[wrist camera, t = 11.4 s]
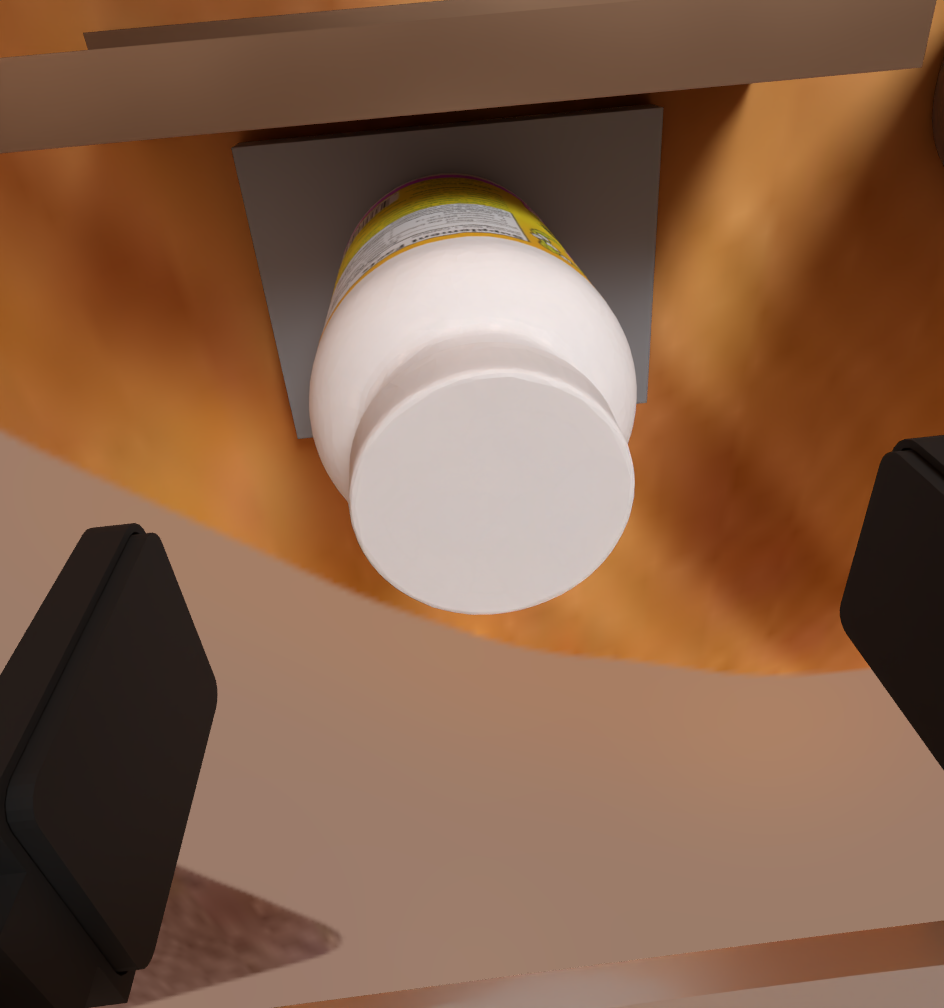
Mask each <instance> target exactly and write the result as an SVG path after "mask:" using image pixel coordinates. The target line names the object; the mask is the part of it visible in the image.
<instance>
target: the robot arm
mask: <svg viewBox="0 0 944 1008" xmlns="http://www.w3.org/2000/svg"><path fill="white" fill-rule="evenodd" d="M840 618H841V623H842V626H843V628H844V630H845V632H846V634H847V635H848V637H849V638H850V640H851V641H852V642H853V644H854V645H855V647H856V648H857V649H858V651H859V652H860V654H861V655H862V656H863V658H864V659H865V661H866V662H867V663H868V665H869V666H870V668H871V669H872V670H873V672H874V673H875V675H876V676H877V677H878V679H879V680H880V682H881V683H882V684H883V686H884V687H885V688H886V690H887V691H888V693H889V694H890V696H891V697H892V698H893V700H894V701H895V703H896V704H897V705H898V707H899V708H900V710H901V711H902V712H903V714H904V715H905V717H906V718H907V719H908V721H909V722H910V724H911V725H912V726H913V728H914V729H915V731H916V732H917V733H918V735H919V736H920V738H921V739H922V740H923V741H924V743H925V745H926V746H927V747H928V749H929V750H930V751H931V753H932V754H933V756H934V757H935V759H936V760H937V761H938V762H939V764H940V766H941V767H942V768H943V770H944V435H940V436H930V437H921V438H912V439H904V440H902V441H900V442H898V444H897V445H896V446H895V447H894V449H893V451H892V452H889V453H887V454H886V455H885V456H884V457H883V458H882V460H881V463H880V466H879V469H878V473H877V476H876V480H875V484H874V487H873V491H872V494H871V498H870V501H869V505H868V508H867V512H866V516H865V519H864V523H863V526H862V530H861V533H860V537H859V541H858V544H857V548H856V551H855V555H854V558H853V562H852V566H851V569H850V573H849V576H848V580H847V583H846V587H845V591H844V594H843V598H842V601H841V605H840ZM216 704H217V685H216V680H215V677H214V674H213V671H212V669H211V666H210V664H209V661H208V659H207V656H206V654H205V651H204V649H203V646H202V644H201V641H200V638H199V636H198V633H197V631H196V628H195V626H194V623H193V620H192V618H191V615H190V613H189V611H188V608H187V605H186V603H185V600H184V597H183V595H182V592H181V590H180V587H179V585H178V582H177V580H176V577H175V575H174V572H173V570H172V567H171V564H170V562H169V559H168V557H167V554H166V552H165V549H164V547H163V544H162V542H161V540H160V538H159V536H158V535H157V534H155V533H145V531H144V529H143V528H142V527H141V526H140V525H138V524H136V523H132V524H123V525H113V526H105V527H96V528H90V529H87V530H86V531H85V532H84V534H83V535H82V537H81V539H80V540H79V542H78V543H77V545H76V547H75V549H74V550H73V552H72V554H71V555H70V557H69V559H68V561H67V562H66V564H65V566H64V567H63V569H62V571H61V573H60V574H59V576H58V578H57V579H56V581H55V583H54V584H53V586H52V588H51V590H50V591H49V593H48V595H47V596H46V598H45V600H44V601H43V603H42V605H41V607H40V608H39V610H38V612H37V613H36V615H35V617H34V619H33V620H32V622H31V624H30V626H29V627H28V629H27V630H26V632H25V634H24V636H23V637H22V639H21V641H20V642H19V644H18V646H17V648H16V649H15V651H14V653H13V654H12V656H11V658H10V660H9V661H8V663H7V665H6V666H5V668H4V670H3V672H2V673H1V675H0V1008H90V1007H98V1006H106V1005H113V1004H121V1003H127V1001H128V997H129V994H130V990H131V986H132V983H133V979H134V975H135V971H136V970H139V969H145V968H146V967H147V966H148V964H149V963H150V961H151V959H152V956H153V953H154V950H155V946H156V943H157V939H158V935H159V931H160V927H161V923H162V919H163V915H164V911H165V907H166V903H167V899H168V895H169V891H170V887H171V883H172V879H173V875H174V872H175V868H176V864H177V860H178V856H179V852H180V848H181V844H182V840H183V836H184V832H185V828H186V824H187V820H188V816H189V812H190V808H191V804H192V800H193V797H194V792H195V789H196V784H197V780H198V777H199V773H200V769H201V765H202V761H203V757H204V753H205V749H206V745H207V741H208V737H209V733H210V729H211V725H212V722H213V717H214V714H215V710H216ZM275 1008H944V921H937V922H928V923H920V924H912V925H904V926H895V927H887V928H879V929H871V930H863V931H855V932H847V933H839V934H832V935H824V936H816V937H808V938H801V939H792V940H784V941H777V942H769V943H762V944H753V945H746V946H738V947H730V948H722V949H715V950H706V951H699V952H692V953H683V954H675V955H667V956H660V957H652V958H644V959H637V960H629V961H621V962H614V963H606V964H598V965H591V966H583V967H575V968H567V969H561V970H560V969H559V970H552V971H544V972H536V973H529V974H521V975H515V976H514V975H513V976H507V977H499V978H491V979H485V980H477V981H469V982H461V983H455V984H446V985H439V986H431V987H424V988H416V989H410V990H402V991H394V992H387V993H379V994H372V995H364V996H357V997H350V998H342V999H335V1000H327V1001H320V1002H312V1003H305V1004H297V1005H290V1006H283V1007H275Z"/></svg>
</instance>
